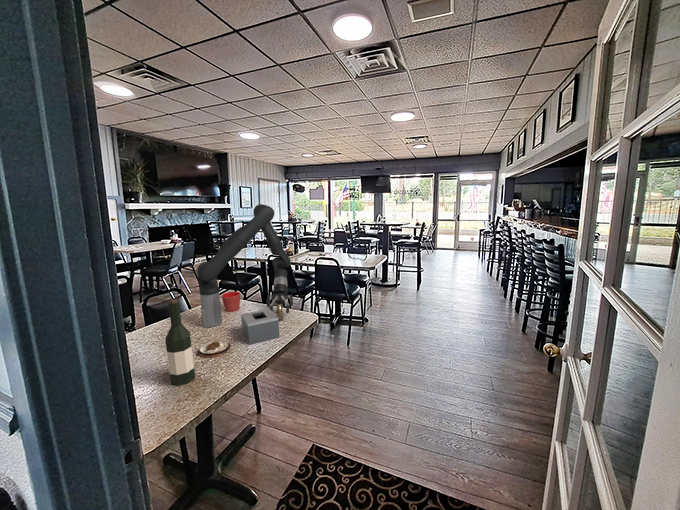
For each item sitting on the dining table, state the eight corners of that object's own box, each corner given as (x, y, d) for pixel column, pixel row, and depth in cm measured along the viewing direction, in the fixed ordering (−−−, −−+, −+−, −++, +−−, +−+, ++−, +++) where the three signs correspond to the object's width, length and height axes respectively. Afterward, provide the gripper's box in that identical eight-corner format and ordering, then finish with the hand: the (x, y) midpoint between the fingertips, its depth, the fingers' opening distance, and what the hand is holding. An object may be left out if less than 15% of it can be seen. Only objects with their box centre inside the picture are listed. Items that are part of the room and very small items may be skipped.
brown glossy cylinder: (278, 322, 160) (277, 305, 158) (276, 320, 163) (275, 303, 161) (283, 320, 161) (282, 304, 160) (281, 319, 164) (280, 302, 162)
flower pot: (219, 312, 176) (217, 296, 174) (229, 306, 186) (227, 291, 185) (236, 313, 174) (234, 297, 172) (244, 306, 185) (243, 291, 183)
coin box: (249, 345, 135) (247, 324, 133) (242, 333, 147) (240, 314, 145) (279, 337, 141) (278, 317, 140) (270, 327, 153) (269, 308, 152)
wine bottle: (176, 373, 113) (166, 297, 108) (199, 371, 114) (190, 296, 109) (166, 386, 105) (154, 305, 100) (190, 385, 106) (180, 303, 101)
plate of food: (212, 363, 121) (211, 354, 120) (188, 355, 128) (187, 346, 127) (240, 347, 134) (239, 338, 133) (216, 341, 140) (216, 332, 140)
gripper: (266, 283, 165) (264, 311, 156) (292, 282, 167) (292, 309, 157) (268, 290, 172) (266, 317, 162) (293, 289, 173) (293, 315, 163)
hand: (279, 313), depth 160 cm, fingers open, 7 cm apart
